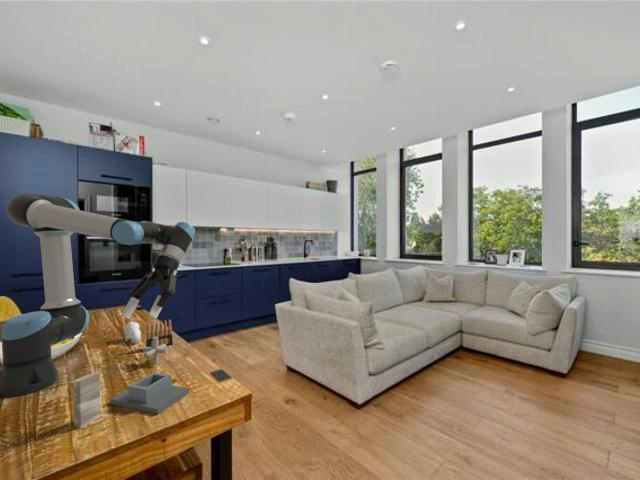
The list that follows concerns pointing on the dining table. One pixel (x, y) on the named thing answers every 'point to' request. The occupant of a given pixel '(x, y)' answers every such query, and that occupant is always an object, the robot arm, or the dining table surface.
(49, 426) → the dining table surface
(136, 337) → the penguin figurine
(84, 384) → the slat
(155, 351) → the pipe connector
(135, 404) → the rectangular socket base
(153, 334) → the ammunition clip
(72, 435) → the dining table surface
